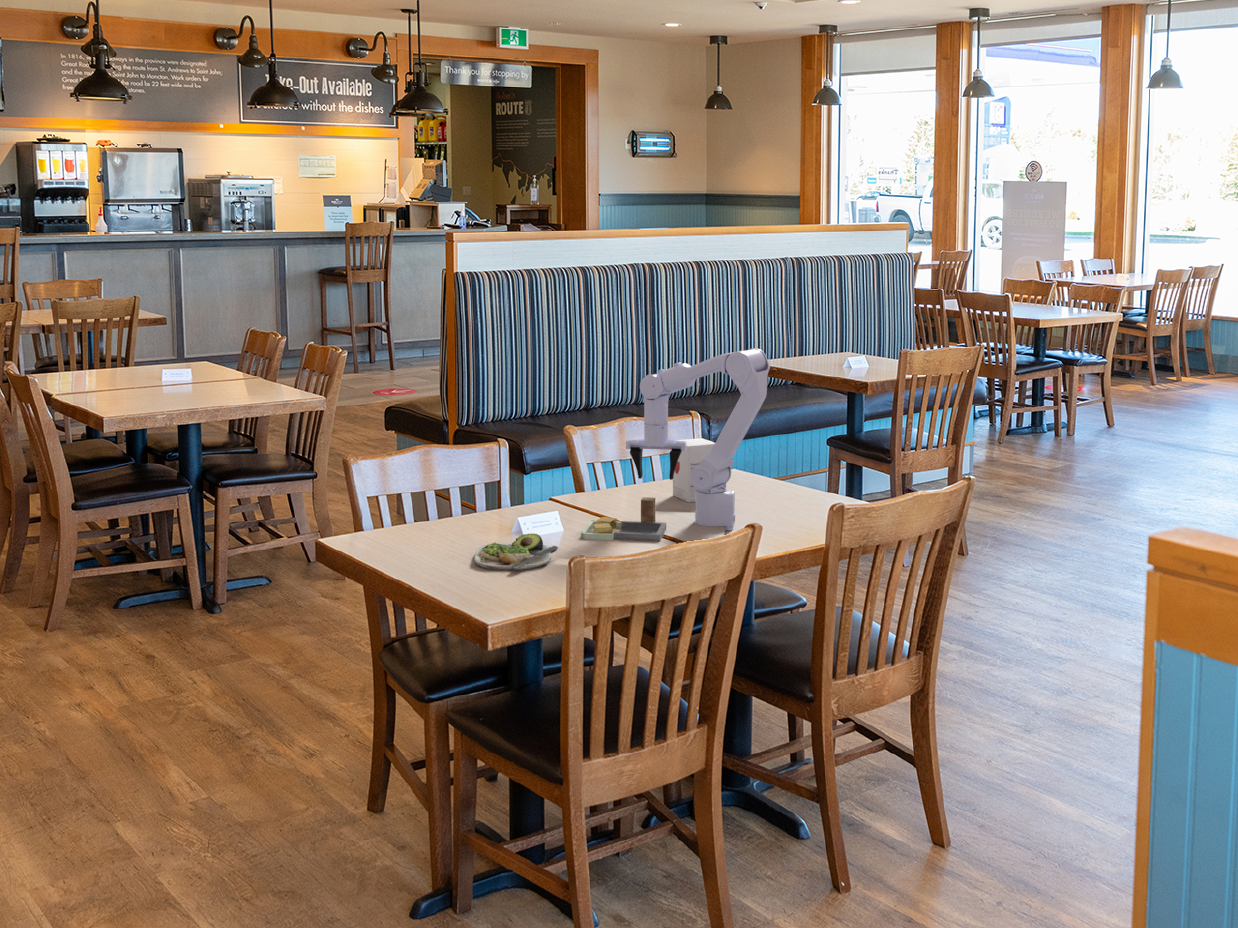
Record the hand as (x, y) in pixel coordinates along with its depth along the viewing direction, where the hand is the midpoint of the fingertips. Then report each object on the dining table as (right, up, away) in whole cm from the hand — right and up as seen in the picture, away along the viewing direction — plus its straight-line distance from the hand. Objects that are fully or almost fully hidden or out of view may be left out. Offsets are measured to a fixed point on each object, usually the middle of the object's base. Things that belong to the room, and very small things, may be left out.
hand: (655, 478), depth 299 cm
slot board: (-4, -14, -17) cm, 22 cm away
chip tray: (-13, -13, -15) cm, 24 cm away
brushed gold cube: (-12, -12, -12) cm, 21 cm away
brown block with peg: (-2, -12, -7) cm, 14 cm away
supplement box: (+11, -6, +23) cm, 26 cm away
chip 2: (-13, -13, -18) cm, 26 cm away
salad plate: (-32, -18, -33) cm, 49 cm away
